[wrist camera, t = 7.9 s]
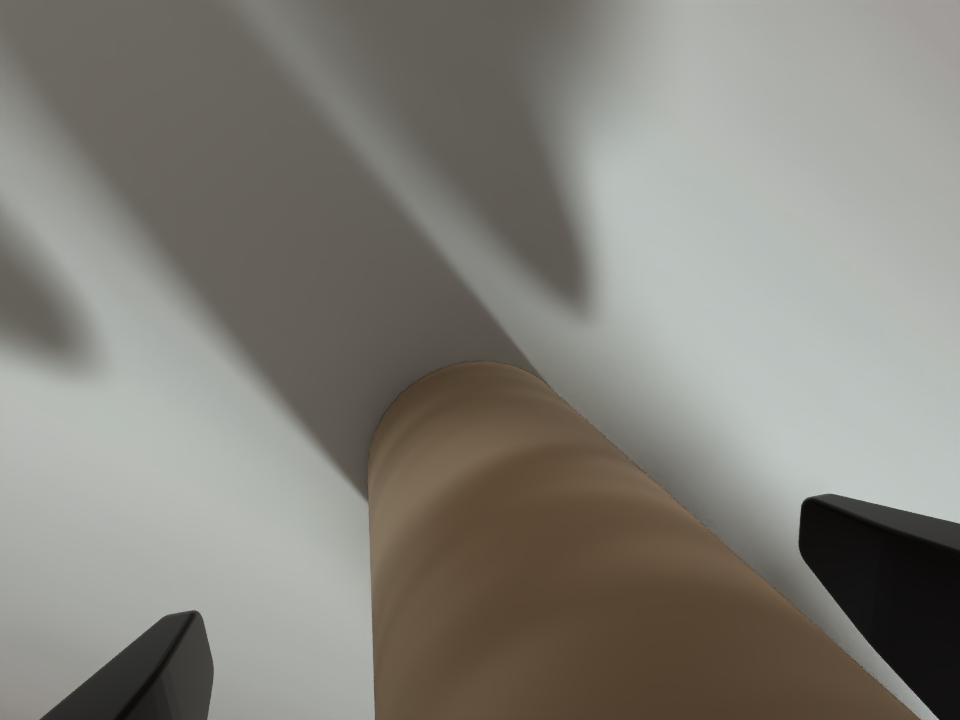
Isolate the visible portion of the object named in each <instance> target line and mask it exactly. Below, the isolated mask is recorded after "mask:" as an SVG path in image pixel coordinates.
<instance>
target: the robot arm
mask: <svg viewBox="0 0 960 720" xmlns="http://www.w3.org/2000/svg"><path fill="white" fill-rule="evenodd" d="M799 550H800V553H801V556H802V558H803V560H804V561H805V563H806V564H807V565H808V566H809V568H810V569H811V570H812V572H813V573H814V574H815V575H816V577H817V578H818V579H819V580H820V582H821V583H822V584H823V586H824V587H825V588H826V589H827V591H828V592H829V593H830V595H831V596H832V597H833V598H834V600H835V601H836V602H837V604H838V605H839V606H840V607H841V609H842V610H843V611H844V612H845V614H846V615H847V616H848V618H849V619H850V620H851V621H852V623H853V624H854V625H855V627H856V628H857V629H858V630H859V632H860V633H861V634H862V635H863V637H864V638H865V639H866V640H867V641H868V643H869V644H870V645H871V646H872V647H873V648H874V649H875V651H876V652H877V653H878V654H879V655H880V656H881V657H882V658H883V660H884V661H885V662H886V663H887V664H888V665H889V666H890V667H891V668H892V669H893V670H894V671H895V673H896V674H897V675H898V676H899V677H900V678H901V679H902V680H903V681H904V682H905V683H906V684H907V685H908V687H909V688H910V689H911V690H912V691H913V692H914V693H915V694H916V695H917V696H918V697H919V698H920V699H921V701H922V702H923V703H924V704H925V705H926V706H927V707H928V708H929V709H930V710H931V711H932V712H933V714H934V715H935V716H936V717H937V718H938V719H939V720H960V524H959V523H955V522H950V521H946V520H942V519H938V518H933V517H929V516H925V515H920V514H916V513H912V512H908V511H903V510H899V509H895V508H891V507H886V506H882V505H878V504H873V503H869V502H865V501H861V500H856V499H852V498H848V497H843V496H839V495H835V494H823V495H818V496H813V497H808V498H806V499H805V500H804V501H803V503H802V505H801V514H800V528H799ZM213 676H214V668H213V660H212V655H211V651H210V647H209V643H208V638H207V634H206V630H205V625H204V621H203V618H202V616H201V614H200V613H199V612H198V611H196V610H192V611H186V612H181V613H175V614H170V615H167V616H164V617H163V618H162V619H160V620H159V621H158V622H157V623H155V624H154V625H153V626H152V627H151V628H149V629H148V630H147V631H146V632H145V633H143V634H142V635H141V636H140V637H139V638H137V639H136V640H135V641H134V642H132V643H131V644H130V645H129V646H128V647H126V648H125V649H124V650H123V651H122V652H120V653H119V654H118V655H117V656H116V657H114V658H113V659H112V660H111V661H110V662H108V663H107V664H106V665H105V666H104V667H102V668H101V669H100V670H99V671H97V672H96V673H95V674H94V675H93V676H91V677H90V678H89V679H88V680H87V681H85V682H84V683H83V684H82V685H81V686H79V687H78V688H77V689H76V690H75V691H73V692H72V693H71V694H70V695H69V696H67V697H66V698H65V699H64V700H62V701H61V702H60V703H59V704H58V705H56V706H55V707H54V708H53V709H52V710H50V711H49V712H48V713H47V714H46V715H44V716H43V717H42V718H41V719H40V720H207V717H208V711H209V704H210V698H211V692H212V685H213Z"/></svg>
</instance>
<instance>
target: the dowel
mask: <svg viewBox="0 0 960 720" xmlns="http://www.w3.org/2000/svg"><path fill="white" fill-rule="evenodd" d="M368 499H369V533H370V566H371V599H372V633H373V666H374V699H375V720H920V719H919V718H918V717H917V716H916V715H915V714H914V713H913V712H912V711H910V710H909V709H908V708H907V707H906V706H905V705H904V704H903V703H901V702H900V701H899V700H898V699H897V698H896V697H895V696H894V695H893V694H891V693H890V692H889V691H888V690H887V689H886V688H885V687H884V686H883V685H881V684H880V683H879V682H878V681H877V680H876V679H875V678H874V677H872V676H871V675H870V674H869V673H868V672H867V671H866V670H865V669H864V668H862V667H861V666H860V665H859V664H858V663H857V662H856V661H855V660H853V659H852V658H851V657H850V656H849V655H848V654H847V653H846V652H845V651H843V650H842V649H841V648H840V647H839V646H838V645H837V644H836V643H835V642H833V641H832V640H831V639H830V638H829V637H828V636H827V635H826V634H824V633H823V632H822V631H821V630H820V629H819V628H818V627H817V626H816V625H814V624H813V623H812V622H811V621H810V620H809V619H808V618H807V617H806V616H804V615H803V614H802V613H801V612H800V611H799V610H798V609H797V608H795V607H794V606H793V605H792V604H791V603H790V602H789V601H788V600H787V599H785V598H784V597H783V596H782V595H781V594H780V593H779V592H778V591H776V590H775V589H774V588H773V587H772V586H771V585H770V584H769V583H768V582H766V581H765V580H764V579H763V578H762V577H761V576H760V575H759V574H758V573H756V572H755V571H754V570H753V569H752V568H751V567H750V566H749V565H747V564H746V563H745V562H744V561H743V560H742V559H741V558H740V557H739V556H737V555H736V554H735V553H734V552H733V551H732V550H731V549H730V548H728V547H727V546H726V545H725V544H724V543H723V542H722V541H721V540H720V539H718V538H717V537H716V536H715V535H714V534H713V533H712V532H711V531H710V530H708V529H707V528H706V527H705V526H704V525H703V524H702V523H701V522H699V521H698V520H697V519H696V518H695V517H694V516H693V515H692V514H691V513H689V512H688V511H687V510H686V509H685V508H684V507H683V506H682V505H681V504H679V503H678V502H677V501H676V500H675V499H674V498H673V497H672V496H670V495H669V494H668V493H667V492H666V491H665V490H664V489H663V488H662V487H660V486H659V485H658V484H657V483H656V482H655V481H654V480H653V479H651V478H650V477H649V476H648V475H647V474H646V473H645V472H644V471H643V470H641V469H640V468H639V467H638V466H637V465H636V464H635V463H634V462H633V461H631V460H630V459H629V458H628V457H627V456H626V455H625V454H624V453H622V452H621V451H620V450H619V449H618V448H617V447H616V446H615V445H614V444H612V443H611V442H610V441H609V440H608V439H607V438H606V437H605V436H603V435H602V434H601V433H600V432H599V431H598V430H597V429H596V428H595V427H593V426H592V425H591V424H590V423H589V422H588V421H587V420H586V419H585V418H583V417H582V416H581V415H580V414H579V413H578V412H577V411H576V410H574V409H573V408H572V407H571V406H570V405H569V404H568V403H567V402H566V401H564V400H563V399H562V398H561V397H560V396H559V395H558V394H557V393H556V392H554V391H553V390H552V389H551V388H550V387H549V386H548V385H547V384H545V383H544V382H543V381H542V380H540V379H539V378H537V377H536V376H534V375H533V374H531V373H529V372H527V371H525V370H523V369H521V368H518V367H515V366H512V365H509V364H504V363H499V362H491V361H472V362H463V363H458V364H454V365H450V366H447V367H444V368H441V369H438V370H436V371H434V372H432V373H430V374H428V375H426V376H424V377H422V378H421V379H419V380H418V381H416V382H415V383H413V384H412V385H410V386H409V387H408V388H407V389H406V390H405V391H403V392H402V393H401V394H400V395H399V396H398V397H397V398H396V400H395V401H394V402H393V403H392V404H391V405H390V407H389V408H388V409H387V411H386V412H385V414H384V415H383V417H382V419H381V421H380V423H379V424H378V426H377V428H376V431H375V434H374V436H373V439H372V442H371V446H370V451H369V456H368Z"/></svg>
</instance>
